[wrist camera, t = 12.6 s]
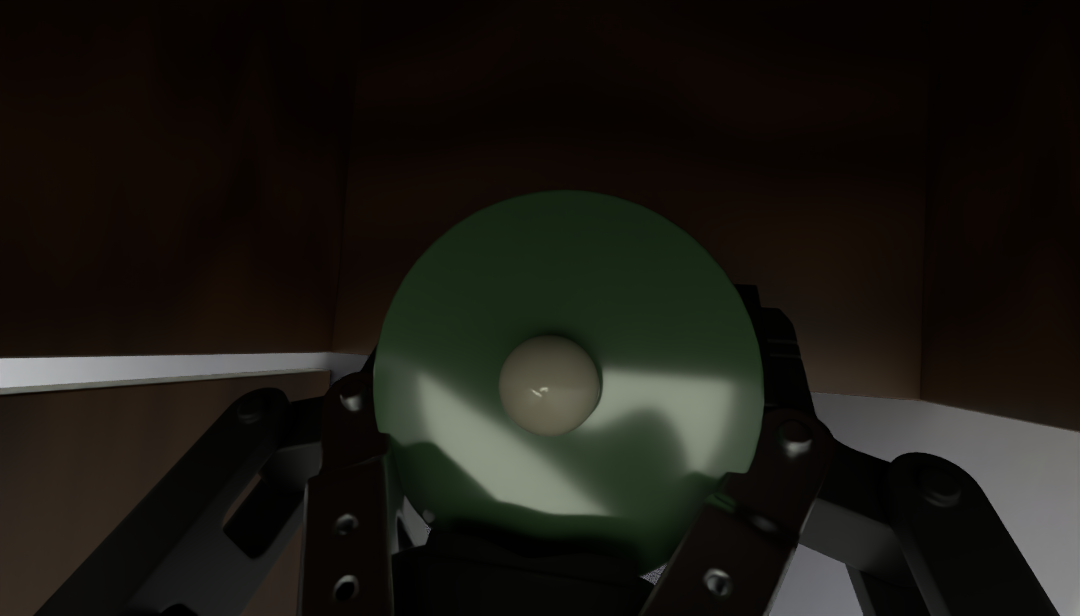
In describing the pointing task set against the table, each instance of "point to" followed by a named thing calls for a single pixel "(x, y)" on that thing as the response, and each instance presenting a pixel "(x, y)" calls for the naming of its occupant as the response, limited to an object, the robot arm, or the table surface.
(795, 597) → the table surface
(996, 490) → the table surface
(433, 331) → the pot
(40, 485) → the cupboard door
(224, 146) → the cupboard
